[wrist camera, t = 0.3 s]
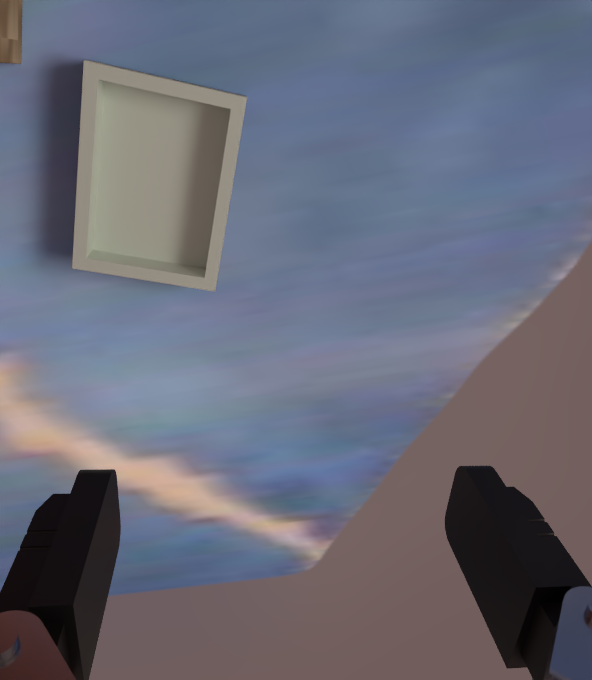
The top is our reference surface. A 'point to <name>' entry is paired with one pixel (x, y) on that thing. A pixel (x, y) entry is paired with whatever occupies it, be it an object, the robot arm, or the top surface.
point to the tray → (154, 176)
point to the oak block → (10, 31)
